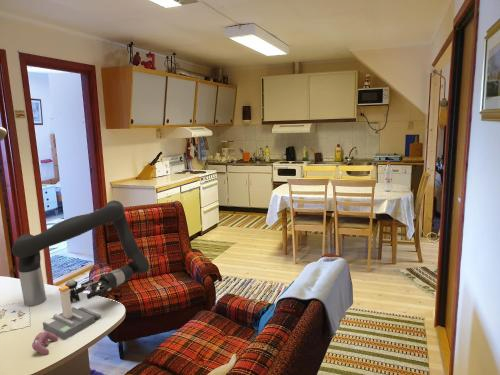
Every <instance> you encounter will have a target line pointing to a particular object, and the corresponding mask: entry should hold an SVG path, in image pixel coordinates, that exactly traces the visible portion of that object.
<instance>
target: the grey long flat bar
mask: <svg viewBox="0 0 500 375" xmlns="http://www.w3.org/2000/svg"><path fill="white" fill-rule="evenodd" d="M78 309H79V310H81V311H83V312H86V313H88V314H90V315H93V316H94V318H95V322H97V321H99V320H100V319H102V314H99V313H96V312H94V311H92V310H89V309H87V308H85V307H82V306H81V307H78Z"/></svg>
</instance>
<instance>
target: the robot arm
mask: <svg viewBox="0 0 500 375" xmlns="http://www.w3.org/2000/svg"><path fill="white" fill-rule="evenodd" d="M110 223H112V224H113V225H114V227H115V230H116V232H117V235H118V239H119V241H120V245H121V247H122V249H123V252H124V254H125V256H126V257H127V259H131V261H128V263H126V264H125V265H124V266H121V267H119V268H116V269H114V270H111V271H110V272H107V273H105V274H103V275H101V276H100V277H99V279H98V280H94V279H93V278H91V279H89V280H87V281H84V282H83V283H80V287H78V288H76V290H75V294H78V295H79V294H82V293H83V292H86V291H88V292H89V293H87V294H86V298H87V300H90V299H92V298H94V297H102V296H105V295H107V294H109V293H110V292H111V291H112V289H115V288H116V287H119V286H120V285H122V284H123V283H125V282H127V281H129V280H131V279H132V278H133V276H134V275H137V274H139V275H140V274H141V275H142V274H146V273H147V272H148V271H149V270H150V263H149V260H148V258H147V257H146V256H145V255H144V254H143V252H142V250H140V247H139V245H138V243H137V241H136V239H135V236H134V234H133V232H132V230H131V227H130V226H129V223H128V220H127V216H126V214H125V207H124V205H123V203H122V202H120V201H119V200H110V201H108V202H107V203H106V204H105V206H103V207H101V208H99V209H97V210H95V211H93V212H89V213H86V214H85V213H84V214H78V215H76V216H75V215H74V216H73V217H70V218H67V219H65V220H61V221H59V222H57V223H56V224H55V225H52V226H51V227H49V228H48V229H46V230H44V231H42V232H40V233H37V234H35V235H33V234H30V233H25V234H22V235H20V236H19V237H18V238H17V239H16V240H15V241H14V243H13V244H12V247H11V252H12V255H13V256H14V257H16V258H17V259H18V260H17V261H18V262H17V270H18V271H17V272H18V277H19V282H20V288H21V292H22V298H23V304H24V306H26V307H34V306H38V305H41V304H43V303H44V302H46V300H47V295H46V289H45V284H44V278H43V271H42V264H41V257H42V256H41V251H42V250H44V249H47V248H49V247H52V246H54V245H57V244H61V243H63V242H66V241H69V240H71V239H74V238H76V237H79V236H81V235H83V234H85V233H87V232H90V231H91V230H94V229H95V228H98V227H101V226H104V225H107V224H110ZM90 291H91V292H90Z"/></svg>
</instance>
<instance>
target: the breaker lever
mask: <svg viewBox="0 0 500 375" xmlns="http://www.w3.org/2000/svg"><path fill="white" fill-rule="evenodd" d="M58 291H59V295H60V301H61V309H62V313H63V316H64V318H66V319H68V320H71V319H73V314H72V308H73V307H72V304H71V303H72V302H71V301H70V295H69V287H68V286H65V285H62V286H61V287H58Z"/></svg>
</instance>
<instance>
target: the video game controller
mask: <svg viewBox="0 0 500 375" xmlns="http://www.w3.org/2000/svg"><path fill="white" fill-rule="evenodd" d="M58 340H59V337H58V336H56V335H54V334H52V333H50V332H49V331H47V330H42V331H41V332H39V333H38V334H37V335H36V336H35V337H34V339H33V342H32V344H31V346H32V349H33V351H35V352H36V351H37V352H38V353H40V354H41V355H48V354H49V353H50V351H49V349H48V348H47V347H46V346H47V345H49V344H50V343H49V341H54V342H55V341H58Z"/></svg>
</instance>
